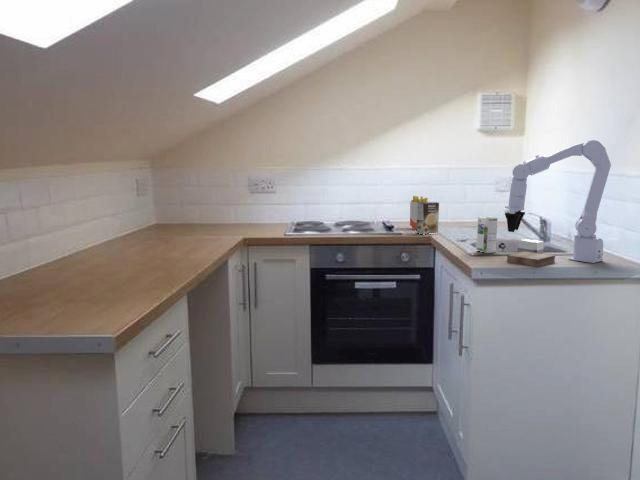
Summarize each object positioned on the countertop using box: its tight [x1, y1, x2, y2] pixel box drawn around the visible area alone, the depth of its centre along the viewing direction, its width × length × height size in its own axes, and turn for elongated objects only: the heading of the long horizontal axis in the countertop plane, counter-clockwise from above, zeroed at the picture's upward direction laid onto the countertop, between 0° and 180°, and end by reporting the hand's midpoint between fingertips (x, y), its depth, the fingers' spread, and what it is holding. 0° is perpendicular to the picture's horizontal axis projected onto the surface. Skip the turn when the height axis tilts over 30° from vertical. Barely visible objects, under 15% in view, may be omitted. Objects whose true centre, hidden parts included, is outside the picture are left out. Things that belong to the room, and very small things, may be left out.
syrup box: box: [476, 215, 498, 254], centre depth 218 cm, size 6×6×14 cm
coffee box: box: [415, 201, 440, 235], centre depth 269 cm, size 9×6×16 cm
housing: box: [517, 238, 545, 254], centre depth 210 cm, size 8×5×6 cm, turn 39°
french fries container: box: [409, 195, 429, 230], centre depth 285 cm, size 5×11×18 cm, turn 41°
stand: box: [506, 251, 556, 267], centre depth 197 cm, size 12×12×2 cm
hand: (513, 230), depth 208 cm, fingers open, 7 cm apart
